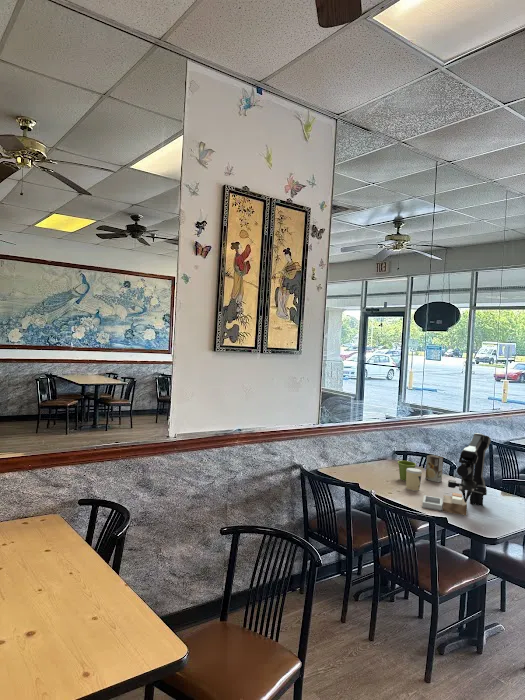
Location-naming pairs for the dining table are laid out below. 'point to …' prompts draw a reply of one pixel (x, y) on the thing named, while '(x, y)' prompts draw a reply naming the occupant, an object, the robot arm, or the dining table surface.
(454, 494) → the terracotta tile
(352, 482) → the dining table surface
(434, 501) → the bin
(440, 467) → the coffee box
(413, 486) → the coffee cup
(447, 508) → the brown cream box
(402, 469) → the plant pot
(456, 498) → the cream tile
